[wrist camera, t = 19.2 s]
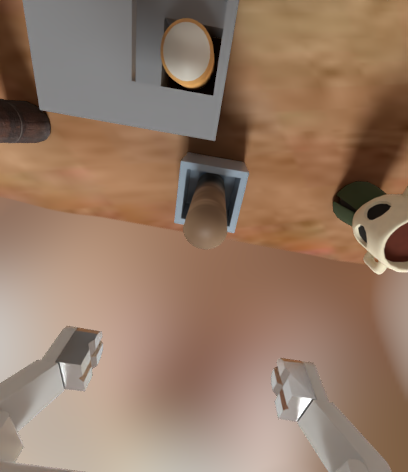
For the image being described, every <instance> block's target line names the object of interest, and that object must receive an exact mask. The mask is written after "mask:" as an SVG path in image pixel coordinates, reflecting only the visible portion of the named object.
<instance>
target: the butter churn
mask: <svg viewBox="0 0 408 472" xmlns="http://www.w3.org/2000/svg"><path fill="white" fill-rule="evenodd" d="M49 135H50V123H49V120H48V118H47V115H46V114H45V113H42V111H41V110H40V109H39V108H38V107H37V106H35V105H33V104H31V103H29V102H27V101H13V100H4V99H0V143H37V142H40V141H44V140H46V139H47V138H48V136H49Z"/></svg>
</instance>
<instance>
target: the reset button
mask: <svg viewBox="0 0 408 472" xmlns="http://www.w3.org/2000/svg"><path fill="white" fill-rule="evenodd" d="M160 54H161V60H162V64H163V66H164V69H165V71H166V72H167V74H168V75H169V76H170V77H171V78H172V79H173V80H174V81H176V82H177V83H179V84H180V85H182V86H183V87H185V88H187V89H189V90H199V89H202V88H204V87H205V86H206V85H207V84H208V83H209V82H210V80H211V79H212V77H213V74H214V70H215V60H214V51H213V44H212V40H211V37H210V35H209V33H208V31H207V30H206V28H205V27H204V26H203V25H202V24H201V23H199V22H198V21H196V20H194V19H190V18H183V19H179V20H177V21H175V22H173V23H172V24H171V25H170V26H169V27H168V28H167V30H166V31H165V33H164V35H163V38H162V41H161V48H160Z"/></svg>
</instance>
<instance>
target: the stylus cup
mask: <svg viewBox="0 0 408 472" xmlns="http://www.w3.org/2000/svg"><path fill="white" fill-rule="evenodd" d="M207 172H208V173H214V174H219V175H220V176H221V177H222V179H223V181H224V186H225V201H226V216H227V232H231V233H234V232H235V228H236V224H237V220H238V216H239V212H240V208H241V204H242V200H243V196H244V192H245V187H246V183H247V179H248V175H249V171H248V169H247V167H246V165H245V163H244V162H241V161H235V160H230V159H224V158H218V157H213V156H207V155H201V154H196V153H190V152H187V154H186V155H185V156H184V158H183V159H182V160H181V165H180V174H179V184H178V193H177V202H176V212H175V221H174V223H178V224H184V223H185V219H186V216H187V213H188V210H189V207H190V204H191V201H192V198H193V195H194V192H195V189H196V186H197V183H198V180H199V178H200V177H201V176H202V175H203V174H205V173H207Z"/></svg>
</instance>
